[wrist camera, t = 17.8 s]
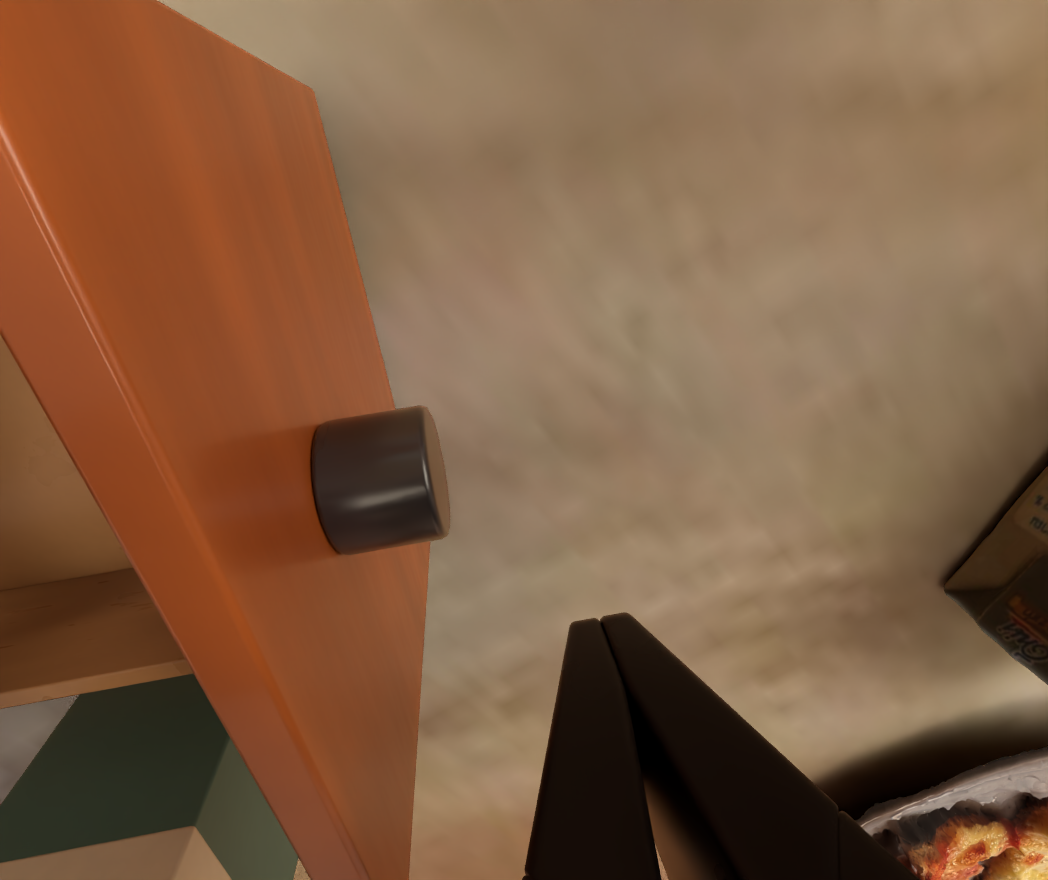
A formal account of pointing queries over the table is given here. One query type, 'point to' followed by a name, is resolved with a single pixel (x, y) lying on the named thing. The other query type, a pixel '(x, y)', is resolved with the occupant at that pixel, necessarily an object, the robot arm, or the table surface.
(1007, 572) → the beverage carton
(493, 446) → the table surface
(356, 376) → the drawer
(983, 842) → the food plate
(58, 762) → the long rectangular block
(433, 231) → the table surface
